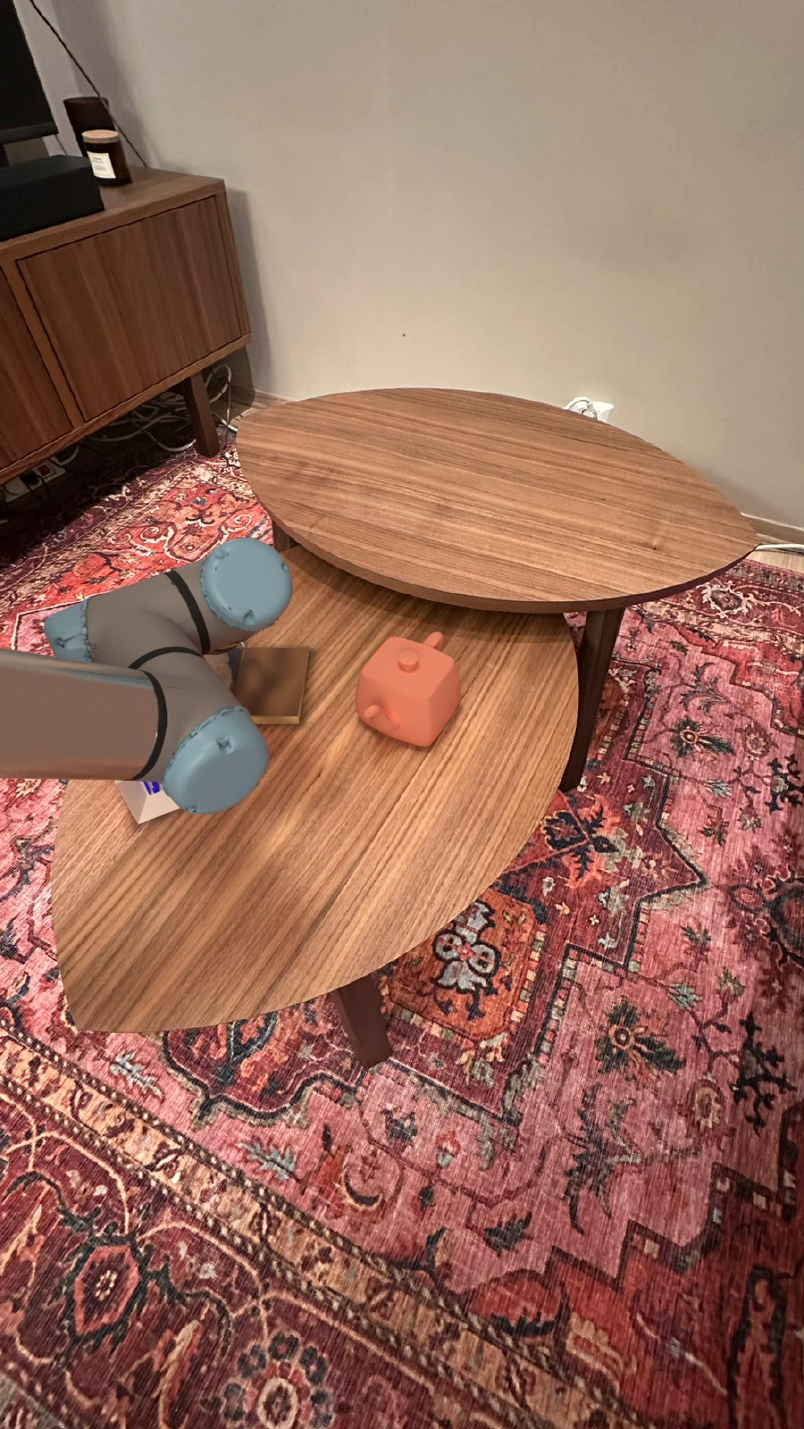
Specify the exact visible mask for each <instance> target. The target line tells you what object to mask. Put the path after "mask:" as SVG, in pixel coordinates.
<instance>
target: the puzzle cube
mask: <svg viewBox="0 0 804 1429" xmlns="http://www.w3.org/2000/svg"><path fill="white" fill-rule="evenodd" d="M113 782H114V785H115V787H116V789H117V791H118V792H119V794H120V795H121V798H122V799H123V801H124V802H125V804H126V806H127V808H128V810H129V811H130V813H131V814H132V817H133V818H134V820H135V822H136V823H137V825H140V824H143V823H145V822H148V821H151V820H153V819H155V818H158V817H161V816H163V815H165V814H169V813H171V812H174V811H176V810H179V809H181V808H180V807H179V806H178V805H176V804H175V802H174V801H173V800H172V799H171V798H170V797H168V796H167V795H166V794H165V792H164V791H163V786H162V784H161V783H159V782H139V781H119V780H113Z"/></svg>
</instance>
